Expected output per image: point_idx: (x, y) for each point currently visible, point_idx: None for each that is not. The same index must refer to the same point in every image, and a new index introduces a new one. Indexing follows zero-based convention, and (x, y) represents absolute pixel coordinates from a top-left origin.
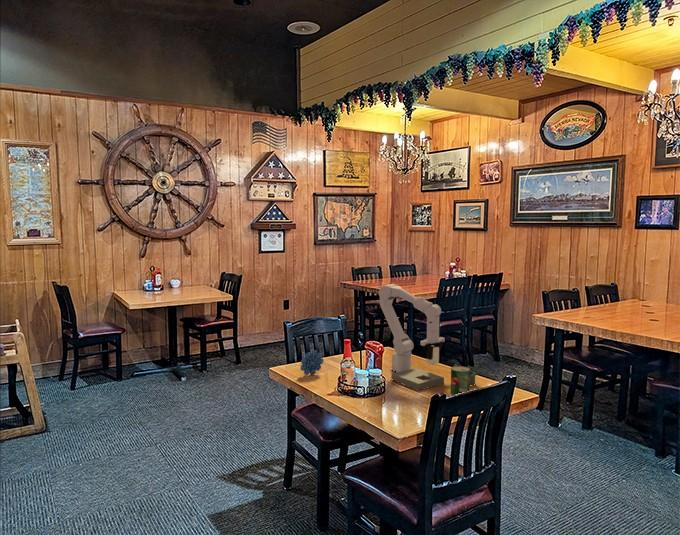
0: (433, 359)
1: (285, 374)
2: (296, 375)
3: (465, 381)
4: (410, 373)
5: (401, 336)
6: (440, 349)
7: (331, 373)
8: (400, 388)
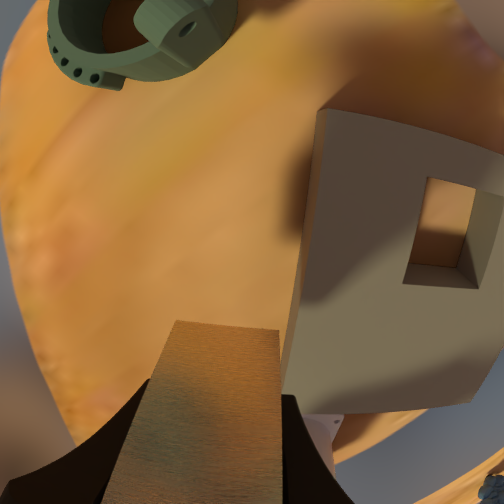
0: (268, 373)
1: None
2: None
3: None
4: (419, 362)
5: None
6: (74, 450)
7: (462, 478)
8: None
